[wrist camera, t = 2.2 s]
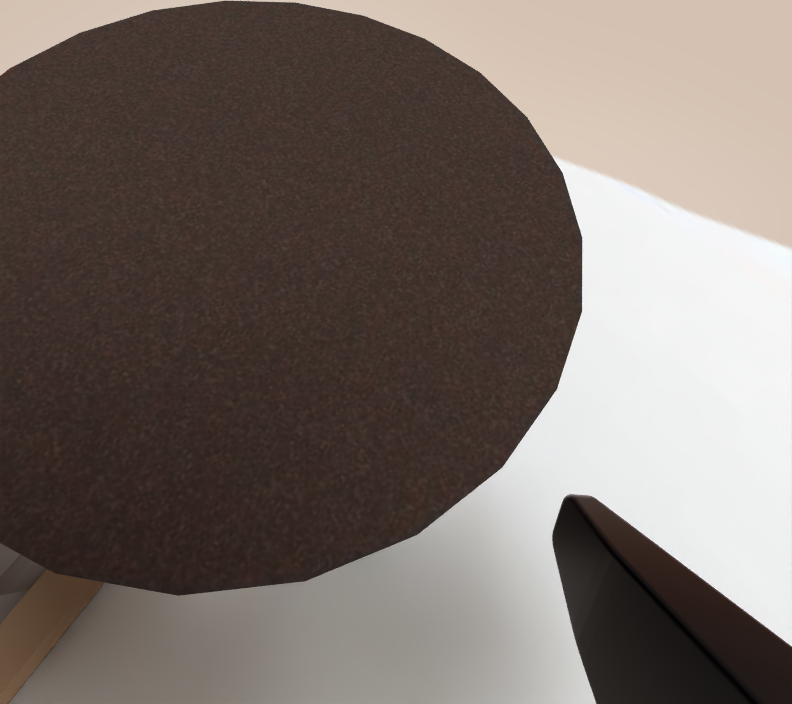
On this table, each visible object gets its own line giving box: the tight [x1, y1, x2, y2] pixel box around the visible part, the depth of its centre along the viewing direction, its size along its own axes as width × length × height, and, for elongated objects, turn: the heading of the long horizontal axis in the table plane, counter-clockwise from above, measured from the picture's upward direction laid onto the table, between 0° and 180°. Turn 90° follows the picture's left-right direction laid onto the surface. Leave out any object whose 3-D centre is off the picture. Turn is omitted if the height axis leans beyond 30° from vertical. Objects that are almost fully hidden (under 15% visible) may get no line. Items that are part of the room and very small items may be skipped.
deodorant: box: [0, 1, 582, 596], centre depth 11 cm, size 6×6×15 cm
